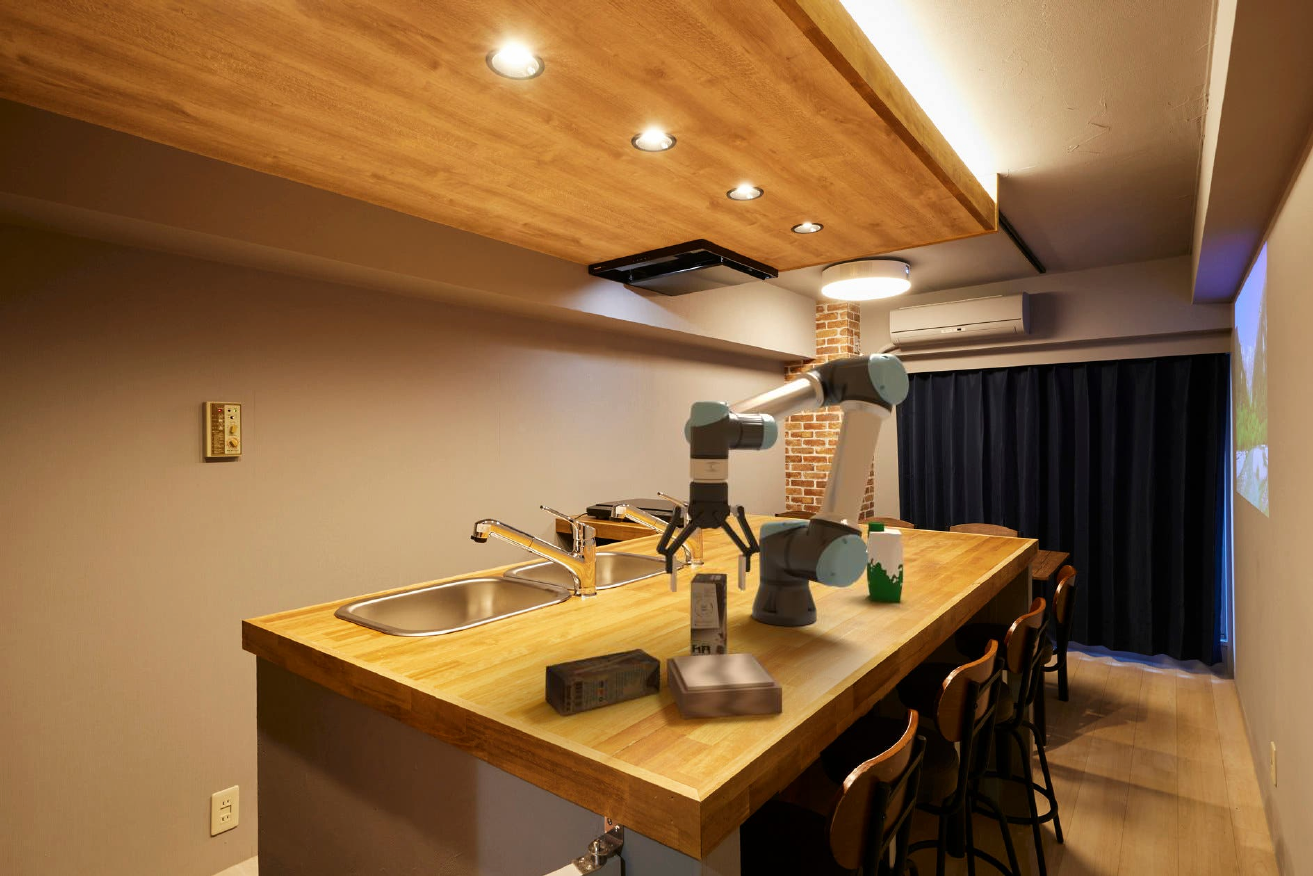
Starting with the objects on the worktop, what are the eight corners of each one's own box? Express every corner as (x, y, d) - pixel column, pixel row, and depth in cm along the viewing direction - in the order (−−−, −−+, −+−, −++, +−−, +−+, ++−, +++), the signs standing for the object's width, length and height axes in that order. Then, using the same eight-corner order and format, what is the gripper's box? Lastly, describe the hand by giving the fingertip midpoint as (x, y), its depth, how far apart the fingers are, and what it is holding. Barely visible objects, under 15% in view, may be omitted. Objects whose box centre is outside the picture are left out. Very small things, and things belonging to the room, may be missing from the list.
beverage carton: (663, 693, 116) (662, 656, 116) (561, 720, 106) (561, 678, 106) (639, 679, 122) (639, 644, 122) (542, 702, 112) (541, 664, 112)
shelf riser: (753, 676, 123) (753, 651, 123) (782, 712, 107) (782, 683, 107) (666, 681, 121) (666, 655, 121) (682, 719, 105) (682, 689, 105)
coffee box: (723, 668, 127) (723, 583, 127) (689, 666, 129) (689, 581, 128) (728, 652, 136) (728, 572, 136) (696, 650, 137) (696, 571, 137)
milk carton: (865, 593, 184) (865, 520, 184) (900, 595, 182) (900, 521, 182) (868, 601, 176) (868, 525, 175) (904, 603, 173) (905, 526, 173)
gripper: (647, 482, 126) (646, 595, 126) (776, 482, 130) (775, 592, 130) (643, 479, 134) (642, 586, 134) (765, 479, 137) (764, 583, 137)
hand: (707, 589), depth 132 cm, fingers open, 13 cm apart
